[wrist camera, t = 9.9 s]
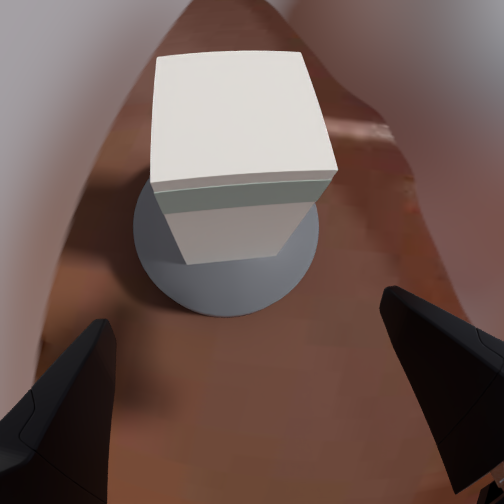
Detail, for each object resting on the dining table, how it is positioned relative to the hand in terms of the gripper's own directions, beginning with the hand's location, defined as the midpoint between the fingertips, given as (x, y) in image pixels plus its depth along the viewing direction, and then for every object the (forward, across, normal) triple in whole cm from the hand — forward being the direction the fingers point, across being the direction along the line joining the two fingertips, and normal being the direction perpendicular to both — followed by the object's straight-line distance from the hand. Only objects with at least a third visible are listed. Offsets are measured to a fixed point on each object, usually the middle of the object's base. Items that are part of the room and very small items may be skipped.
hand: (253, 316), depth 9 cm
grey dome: (+12, 0, +3) cm, 12 cm away
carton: (+10, 0, +1) cm, 10 cm away
